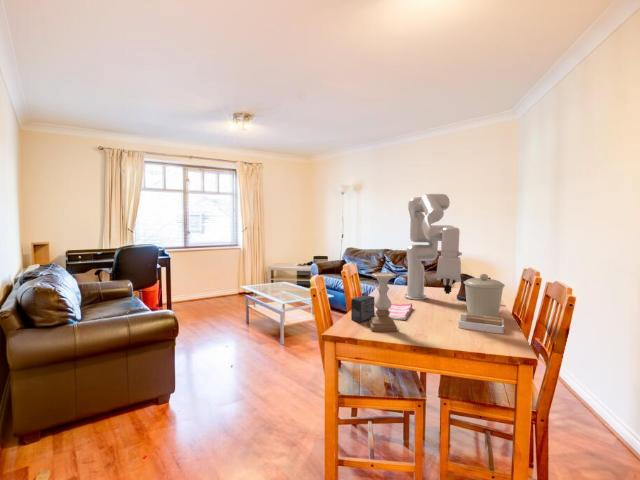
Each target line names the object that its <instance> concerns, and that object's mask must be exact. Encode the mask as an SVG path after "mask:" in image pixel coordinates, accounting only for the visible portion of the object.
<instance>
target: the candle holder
mask: <svg viewBox="0 0 640 480" xmlns="http://www.w3.org/2000/svg"><path fill="white" fill-rule="evenodd" d="M371 277H372V278H376V280H377V281H378V287H377V290H378V296H377V298H375V300H374V308H375V309H376V308H377V310H376V314H377V316H375V317H371V319H370V320H368V326H369V328H370V331H371V332H373V333H374V332H375V333H376V332H377V333H378V332H379V333H397V332H398V326H397V324H396V323H395V319H392V318H391V317H389V316H388V315H389V314H390V311H389V310H388V309H389V308H390V307H391V303H392V302H391V300H390V298H389V296H388V293H389V290H390V287H389V286H388V284H389V283H388V282H389V281H390V279H394V278H396V273H393V272H383V271H382V272H381V271H380V272H372V274H371Z"/></svg>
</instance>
